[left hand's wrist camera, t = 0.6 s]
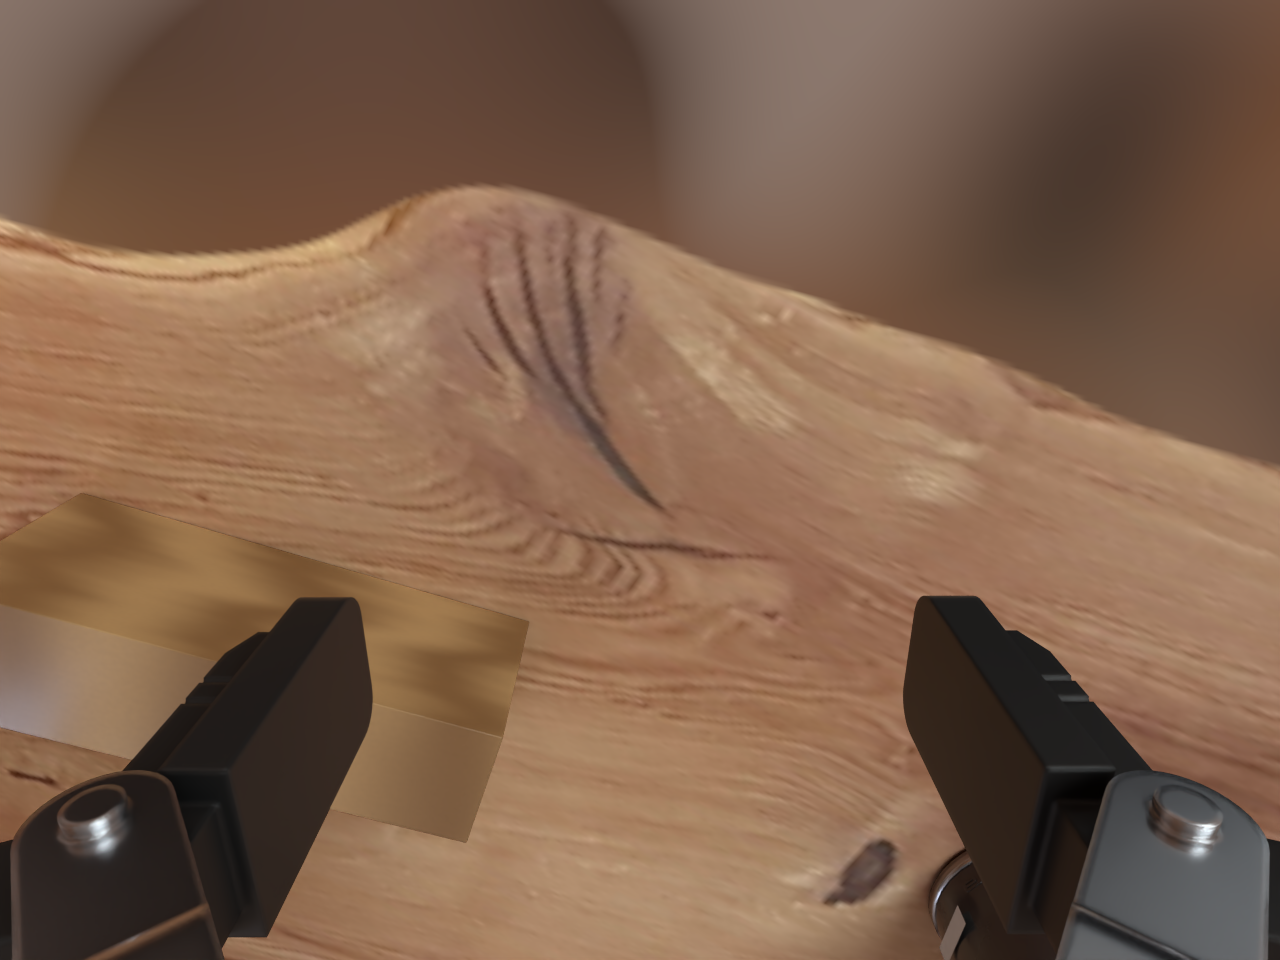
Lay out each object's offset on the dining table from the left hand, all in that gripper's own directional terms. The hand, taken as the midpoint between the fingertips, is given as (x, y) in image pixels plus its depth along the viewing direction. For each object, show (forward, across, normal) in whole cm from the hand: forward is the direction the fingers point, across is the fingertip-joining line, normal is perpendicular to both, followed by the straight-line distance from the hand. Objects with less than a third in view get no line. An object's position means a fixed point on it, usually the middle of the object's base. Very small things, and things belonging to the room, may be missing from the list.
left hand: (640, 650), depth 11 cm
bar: (+25, -17, -14) cm, 33 cm away
